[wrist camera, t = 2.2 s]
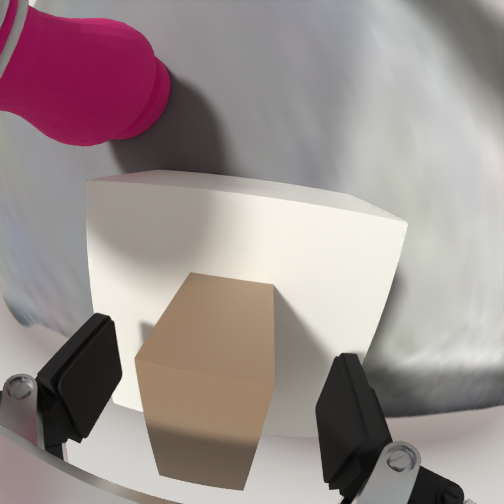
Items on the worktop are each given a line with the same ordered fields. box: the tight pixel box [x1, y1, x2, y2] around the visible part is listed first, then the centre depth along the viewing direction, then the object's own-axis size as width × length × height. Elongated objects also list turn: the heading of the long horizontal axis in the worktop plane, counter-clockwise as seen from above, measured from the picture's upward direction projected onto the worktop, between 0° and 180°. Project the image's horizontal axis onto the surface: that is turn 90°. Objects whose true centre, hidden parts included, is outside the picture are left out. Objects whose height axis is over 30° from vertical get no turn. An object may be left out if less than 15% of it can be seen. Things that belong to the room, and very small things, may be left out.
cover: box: [86, 169, 408, 490], centre depth 13 cm, size 12×12×13 cm
